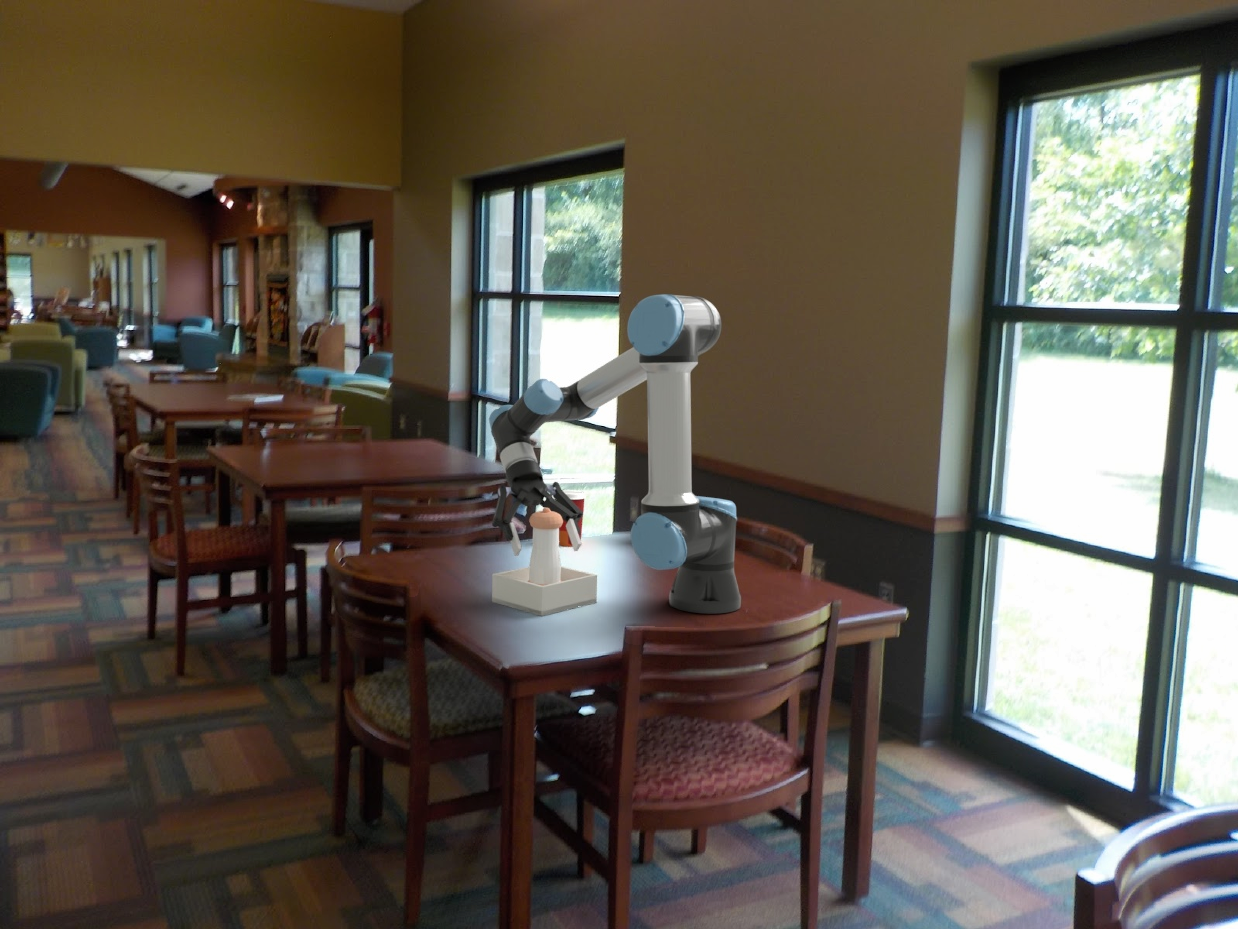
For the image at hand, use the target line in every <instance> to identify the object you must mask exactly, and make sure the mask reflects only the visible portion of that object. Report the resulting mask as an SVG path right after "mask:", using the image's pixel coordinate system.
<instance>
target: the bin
mask: <svg viewBox="0 0 1238 929" xmlns="http://www.w3.org/2000/svg"><path fill="white" fill-rule="evenodd" d="M491 580H492V584H491V585H492V589H491V595H492V596H491V602H492V603H495V604H498V605H502V606H505V607H509V608H510V609H515V610H519V611H521V612H526V613H530V614H532V613H533V614H532V615H536V616H539V617H545V616H548V615H552V613H553V614H556V613H561V612H565V611H568V610H567V609H569V610H572V608H573V609H576V607H577V608H579V607H578V606H581V607H585V606H589V605H592V603H594V604H597V600H598V599H597V598H598V592H597V591H598V574H595V573H591V572H590V573H589V572H586V571H583V570H579V569H574V568H571V567H570V568H569V567H566V566H562V565H561V576H560V580H561V581H562V582H558V583H553V584H549V585H544V586H541V585H538V584H534V583H530V582H528V580H529V566H526V567H520V568H516V569H511V570H510V569H509V570H505V571H500V572H496V573H492V579H491ZM564 610H565V611H564Z"/></svg>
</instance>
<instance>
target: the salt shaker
mask: <svg viewBox="0 0 1238 929" xmlns="http://www.w3.org/2000/svg"><path fill="white" fill-rule="evenodd" d="M528 521H529V523H530V524H529V525H530V526H531V527H532V547H531V552H530V553H531V554H530V557H529V563H528V564H529V566H528V567H529V580H528V582H530V583H534V584H538V585H541V586H544V585H549V584H553V583H558V582H562V581H561V580H560V576H561V566H562V563H561V555H560V547H559V546H560V545H559V527H561V526H562V524H563V519H562V517H561V515H560V514H558V513H556V512H554V511H550V509H549V508H544V507H542V510H538V511H535V512H534V513H532V514H531V515H530V517H529V519H528Z"/></svg>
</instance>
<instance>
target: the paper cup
mask: <svg viewBox="0 0 1238 929" xmlns="http://www.w3.org/2000/svg"><path fill="white" fill-rule="evenodd" d="M561 490H562V491H563V492H564V493H565V494H566V495H567V496H568V497H569V498H570V499H571V500H572V501H573V502H574V503H575V505H576V506H577V507H578V508H579V509H580V510H581V511H582V512H583V513H584V510H585V499H586V496H585V492H584V491H582V490H577V489H576V490H575V489H566V490H565V489H564V490H563V489H561ZM583 520H584V515H583V516H582V517H581V519H580V521H579V522H578V525H579V528H580V533H579V537H580V540H581V541H582V531H583V530H582V529H583ZM566 524H567V522H565V521H564V520H563V524H562V526H561V527H559V546H561V547H565V548H567V547H568V548H569V547H570V548H573V546H572V543H571V540H570V537H569V534H568V531H567V528H566Z"/></svg>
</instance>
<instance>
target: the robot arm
mask: <svg viewBox="0 0 1238 929" xmlns="http://www.w3.org/2000/svg"><path fill="white" fill-rule="evenodd" d="M721 332H722V319H721V315H720V313H719V311H718V309H717V308H716V306H715V305H714V304H713V303H712V302H710V301H709V300H707V299H706V298H704V297H700V296H698V295H697V296H696V295H681V294H678V295H677V294H670V293H669V294H668V293H667V294H665V293H662V294H654V295H650V296H647V297H645V298H643V299H641V300H640V301H639V302H637V304H636V306H634V308H633V309H632V311H631V313H630V315H629V317H628V321H627V338H628V341H629V343H630V345H632V347H631V348H630V349H628V350H625V351H624V352H623V353H621V354H620V355H617V357H615V358H613V359H611V360H609V361H608V362H606V363H605V364H603V365H601V366H600V367H598V368H596V369H595V370H594V371H592V372H590V373H588V374H587V375H585V376H583V377H581V378H580V379H579V380H577V381H576V382H574V383H572V384H570V385H568V386H564V387H562V386H560V387H559V385H558V384H556V383H555V382H553V381H552V380H550V381H549V380H548V379H546V378H540V379H537V380H536V381H535V382H533V384H531V385H530V386H528V388H527V389H526V390H525V391H524V392H523V394H522V395H521V396H520V397H519V398H518V400H516V401H515V403H514V404H505V405H504V404H503V405H500V406H499V407H498V408H495V409H494V410H493V411H491V413H490V414H489V415H490V416H489V418H488V423H489V427H490V433H491V436H492V438H493V440H494V442H495V447H496V450H497V453H498V455H499V458H500V461H501V462H500V463H501V464H502V465H501V466H502V468H503V471H504V473H505V478H506V481H507V485H508V486H506V485H505V484H503V483H501V484H500V485H499V487H498V490H497V492H496V494H497V495H496V496H497V503H496V506H495V511H494V513H493V519H492V523H491V526H492V527H493V528H497V527H499V530H500V531H501V532H503V535H504V538H505V540H506V541H508V542H510V545H511V548H512V551H513V556H515V557H518V556H519V555H520V553H521V552H522V545H521V542H520V538H519V534H518V532H517V529H516V525H515V522H511V521H512V519H513V517H514V516H515V514H516V513H517V511H518V510H519V508H520V506H521V505H523V506H524V507H531V506H534V507H536V506H539V505H540V506H541V507H542V508H549V509H550V511H554V512H556V513H558V514H560V515H561V517H562V519H563V520H564V521H565V522H567V524H566V528H567V531H568V534H569V537H570V540H571V543H572V546H573V547H572V549H573V551H574V552H578V551H579V549H580V548H581V546H582V539H581V540H580V537H579V533H580V528H579V525H578V522H579V521H580V519H581V517H582V516H583V517H584V511H583V512H582V511H581V510H580V509H579V508H578V507H577V506H576V505H575V503H574V502H573V501H572V500H571V499H570V498H569V497H568V496H567V495H566V494H565V493H564V492H563V491H562V490H563V489H562V488H561V486H560V484H559V482H558V481H554V482H553V483H552V484H548V485H547V484H546V483H545V482H544V477H543V473H542V471H541V468H540V465H539V463H538V458H537V456H536V453H535V451H534V447H533V445H532V442H531V441H532V440H531V437H532V436H533V435H534V434H535V433H536V432H537V431H538V430H539V429H540V428H541V426H543V425H544V424H547V423H554V422H555V423H556V422H564V421H583V420H586V419H591V418H592V417H594V416H595V415H596V414H597V413H598V410H599V408H600V407H602V406H604V405H605V404H607V403H608V402H610V401H612V400H614V399H616V398H618V397H619V396H621V395H623V394H625V393H626V392H627V391H629V390H631V389H633V388H635V387H637V386H639V385H640V384H642V383H644V382H645V381H646V384H647V385H646V388H647V389H646V390H647V391H646V392H647V400H646V401H647V448H648V450H647V454H648V455H647V456H648V461H647V462H648V463H647V464H648V492H647V494H646V495H645V496H644V497H643V498H642V499H641V505H640V506H641V509H640V511H641V515H639V516H638V517H637V518H636V520H635V521H634V522H633V523H632V526H631V530H630V542H631V546H632V548H633V550H634V553H635V554H636V557H638V558H639V559H640V560H641V562H642V563H643V564H644V565H645V566H647V567H649V568H650V569H651V568H652V569H654V570H658V571H659V570H660V571H662V570H674V569H677V571H676V575H675V577H674V579H673V582H672V584H671V589H670V591H669V598H668V599H669V601H668V603H669V605H670V606H671V607H673V608H674V609H677V610H680V611H684V612H689V613H697V614H708V615H710V614H714V615H716V614H726V613H733V612H735V611H738V610H739V609H741V606H742V605H741V604H742V603H741V602H742V595H741V593H740V591H739V585H738V583H737V582H738V581H737V578H736V573H735V552H736V551H735V550H736V533H737V532H736V531H737V521H738V517H737V506H736V504H735V503H734V502H733V501H732V500H728V499H723V498H718V497H717V498H715V497H710V496H709V497H708V496H707V497H706V496H699V495H698V496H697V495H695V494H694V493H693V491H692V489H693V487H692V415H691V414H692V408H691V407H692V404H691V403H692V402H691V400H692V399H691V398H692V392H691V384H692V383H691V372H692V371H693V370H694V368H695V367H696V366H698V364H699V356H700V355H702V354H705V353H706V352H707V351H709V350H711V348H713V346H715V344H716V343H717V342H718V340H719V338H720V335H721ZM509 495H510V496H512V497H513V498H514V499H515V500H514V502H513V504H512V505H511V507H510V509H509V510H508V512H507V513H506V515H505V518H502V515H503V511H504V508H505V503H506V498H507V497H509ZM544 499H545V500H544Z"/></svg>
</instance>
